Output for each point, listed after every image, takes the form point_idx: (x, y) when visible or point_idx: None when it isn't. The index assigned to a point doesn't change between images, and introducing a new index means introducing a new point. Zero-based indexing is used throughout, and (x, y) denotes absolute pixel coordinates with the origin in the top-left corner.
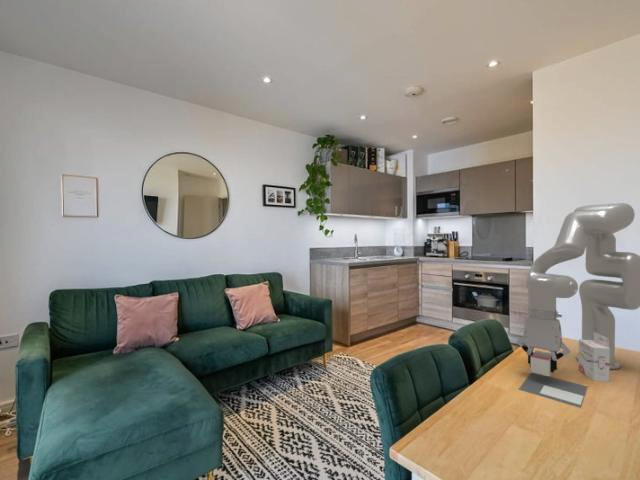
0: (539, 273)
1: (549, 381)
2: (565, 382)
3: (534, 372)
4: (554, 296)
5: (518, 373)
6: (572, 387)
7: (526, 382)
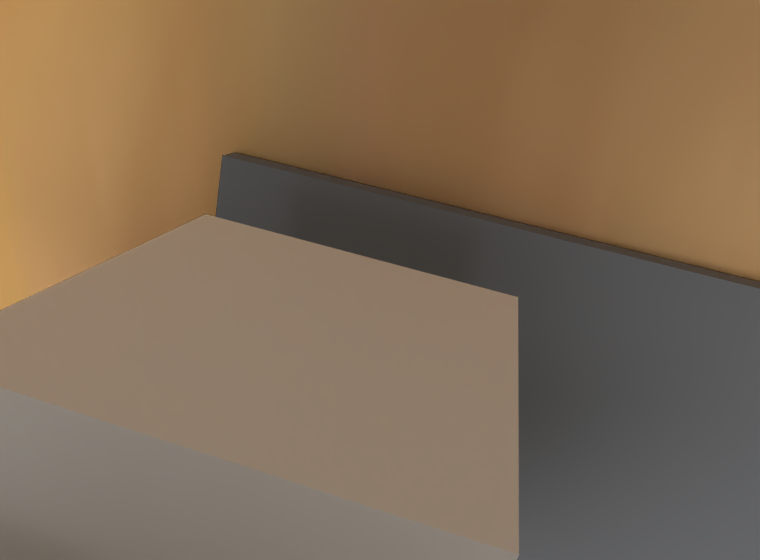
0: None
1: None
2: (663, 350)
3: None
4: None
5: (93, 244)
6: (716, 490)
7: None
